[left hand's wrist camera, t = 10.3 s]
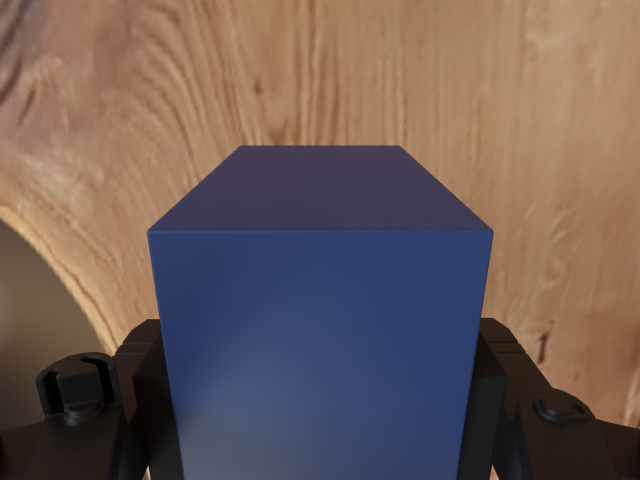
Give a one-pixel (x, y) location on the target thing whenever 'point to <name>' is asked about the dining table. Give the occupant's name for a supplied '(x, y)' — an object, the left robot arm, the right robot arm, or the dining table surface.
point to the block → (320, 316)
